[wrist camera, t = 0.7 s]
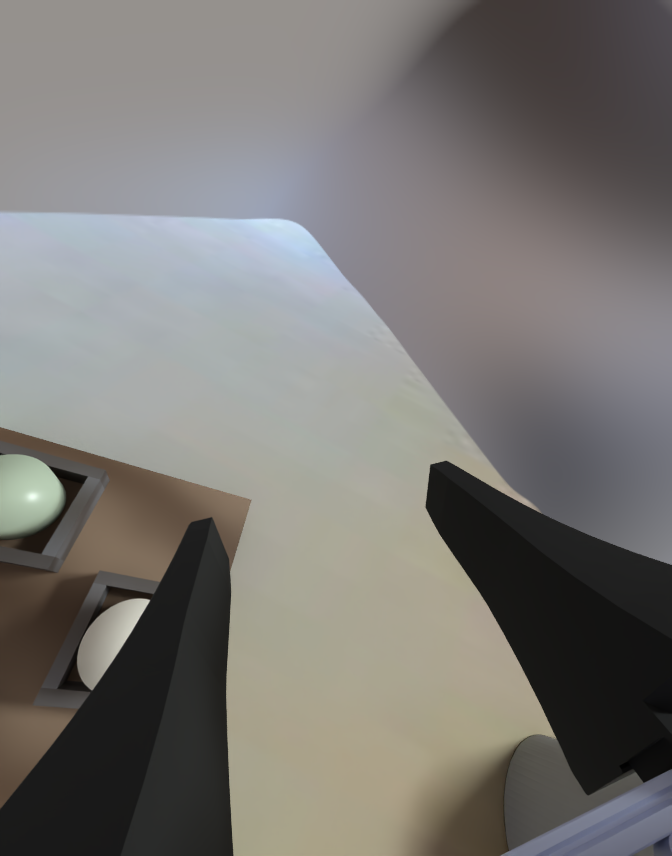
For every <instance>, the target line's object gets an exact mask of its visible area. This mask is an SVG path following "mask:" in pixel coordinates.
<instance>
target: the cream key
mask: <svg viewBox="0 0 672 856" xmlns="http://www.w3.org/2000/svg"><path fill="white" fill-rule="evenodd" d="M149 601H150V600H148V599H130V600H126V601H123V602H120V603H118V604H116V605H114V606H112V607H110V608H109V609H107V610H106V611H105V612H103V613H102V614H101V615H100V616H99V617H98V618H97V619H96V620H95V621H94V622H93V623H92V624H91V625H90V627H89V628H88V630H87V631H86V633H85V635H84V637H83V639H82V641H81V644H80V647H79V650H78V656H77V666H78V672H79V675H80V677H81V679H82V681H83V682H84V684H85V685H86V686H87V687H88V688H89V689H91V690H93V689H94V687H95V686H96V684H97V683H98V682H99V680H100V679H101V677H102V676H103V674H104V673H105V671H106V670H107V668H108V667H109V666H110V664H111V663H112V661H113V660H114V658H115V657H116V655H117V654H118V652H119V651H120V649H121V647H122V646H123V644H124V643H125V641H126V640H127V638H128V637H129V635H130V633H131V632H132V630H133V628H134V627H135V625H136V623H137V622H138V620H139V618H140V617H141V615H142V613H143V612H144V610H145V608H146V607H147V605H148V603H149Z"/></svg>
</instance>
